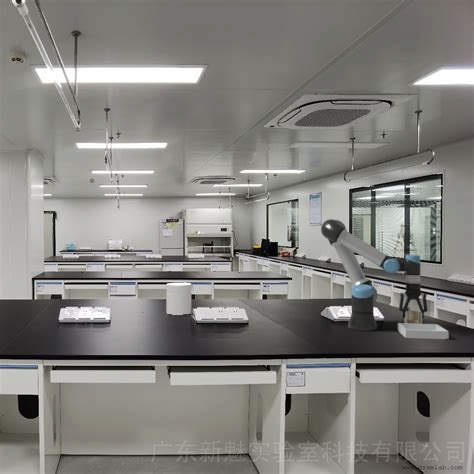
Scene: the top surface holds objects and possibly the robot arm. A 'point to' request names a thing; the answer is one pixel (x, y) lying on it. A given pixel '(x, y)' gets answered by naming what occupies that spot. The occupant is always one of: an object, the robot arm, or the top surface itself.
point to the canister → (178, 298)
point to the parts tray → (423, 331)
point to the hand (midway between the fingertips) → (413, 323)
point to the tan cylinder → (413, 317)
